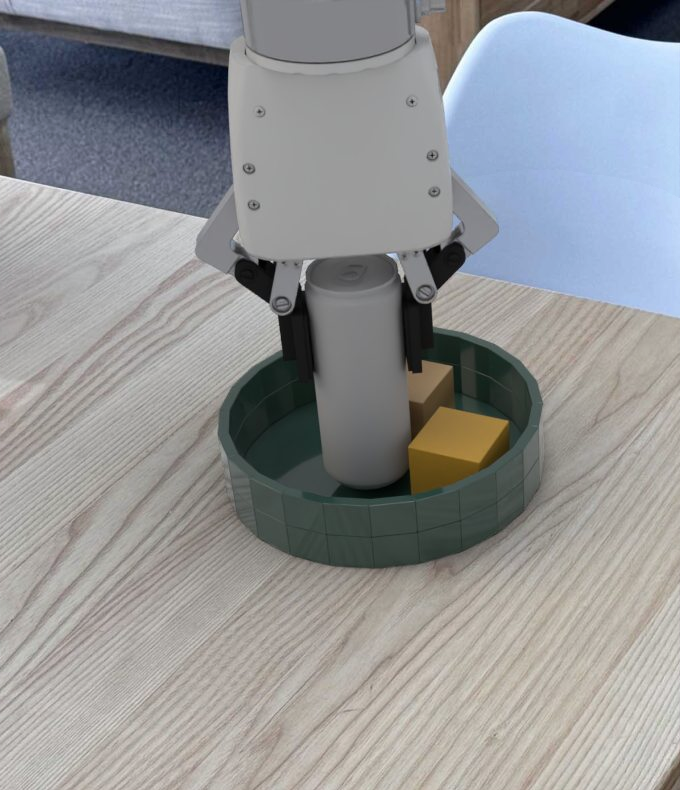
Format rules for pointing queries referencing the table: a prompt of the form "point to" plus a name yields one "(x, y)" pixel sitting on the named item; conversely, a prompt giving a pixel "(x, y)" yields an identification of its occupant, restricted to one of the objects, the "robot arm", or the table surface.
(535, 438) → the bowl
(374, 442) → the beverage can
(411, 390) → the maple block
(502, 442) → the mustard block
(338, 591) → the table surface
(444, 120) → the robot arm
